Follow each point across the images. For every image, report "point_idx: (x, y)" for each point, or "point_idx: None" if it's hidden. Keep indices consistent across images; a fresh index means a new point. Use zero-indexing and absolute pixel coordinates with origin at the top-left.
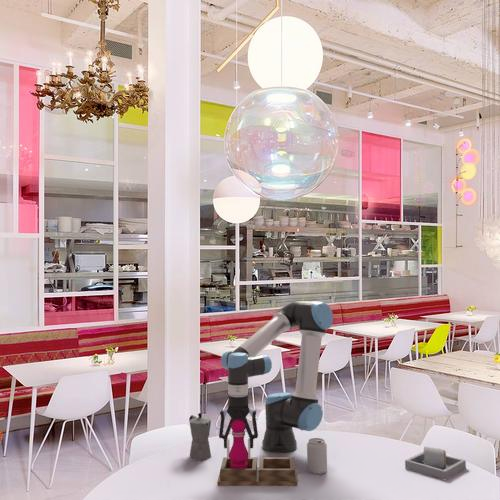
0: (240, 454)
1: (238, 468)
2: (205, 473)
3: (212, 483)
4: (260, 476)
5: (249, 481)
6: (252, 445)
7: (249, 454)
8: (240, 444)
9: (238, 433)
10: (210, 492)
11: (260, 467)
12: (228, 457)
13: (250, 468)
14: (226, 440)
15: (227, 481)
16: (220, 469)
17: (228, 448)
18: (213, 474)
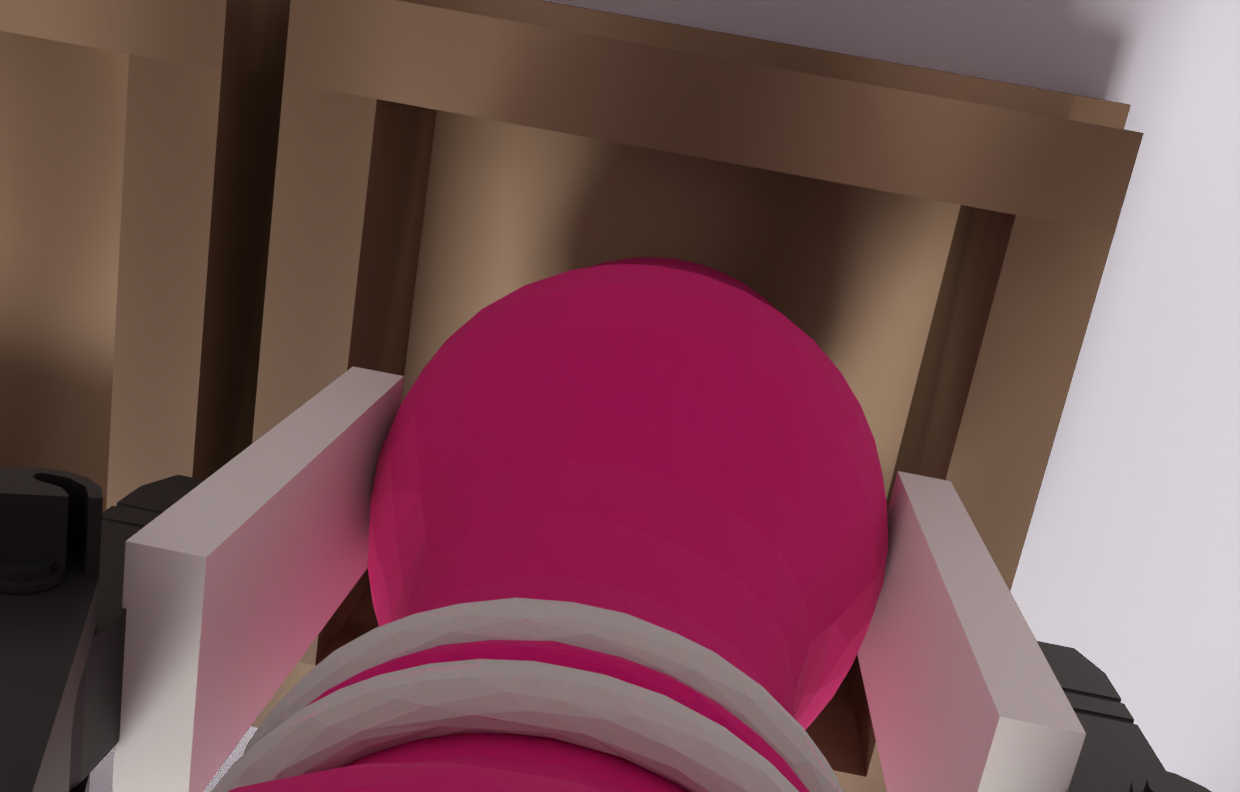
0: (593, 317)
1: (676, 263)
2: (1215, 700)
3: (1173, 242)
4: None
5: (497, 15)
6: (138, 508)
7: (337, 392)
8: (540, 499)
9: (550, 694)
10: None
11: (181, 128)
12: (912, 478)
13: None
14: (1078, 780)
15: (925, 84)
16: (1128, 165)
17: (952, 580)
18: (1082, 632)
